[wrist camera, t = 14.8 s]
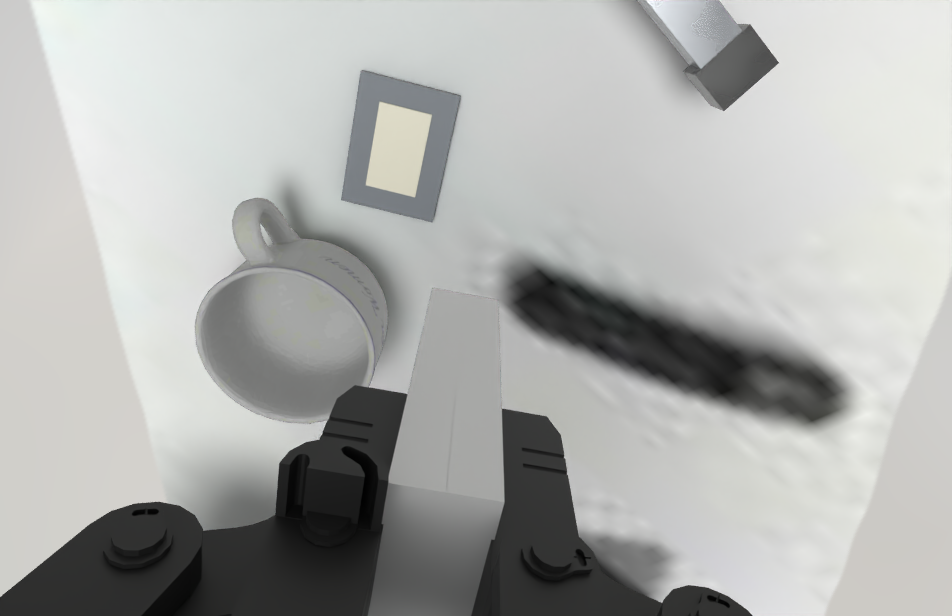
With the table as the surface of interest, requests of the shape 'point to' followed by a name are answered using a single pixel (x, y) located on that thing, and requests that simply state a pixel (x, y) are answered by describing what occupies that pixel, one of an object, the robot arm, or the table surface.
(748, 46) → the swing arm
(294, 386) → the teacup
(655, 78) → the table surface
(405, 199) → the label plate
